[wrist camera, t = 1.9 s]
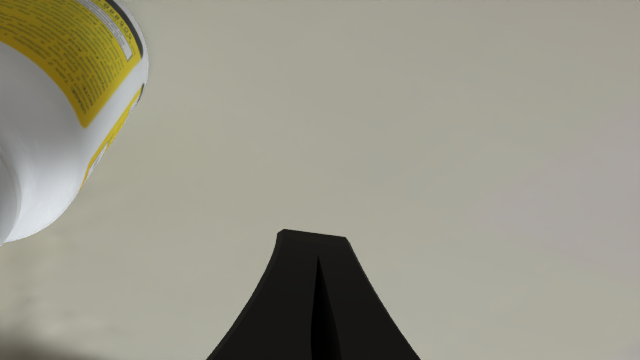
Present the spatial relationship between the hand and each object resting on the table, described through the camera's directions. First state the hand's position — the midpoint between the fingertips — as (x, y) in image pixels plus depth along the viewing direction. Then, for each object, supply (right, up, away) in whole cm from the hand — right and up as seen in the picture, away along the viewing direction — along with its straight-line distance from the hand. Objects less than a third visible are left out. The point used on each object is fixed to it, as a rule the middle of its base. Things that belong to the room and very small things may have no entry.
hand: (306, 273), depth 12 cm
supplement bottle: (-8, +6, +8) cm, 13 cm away
